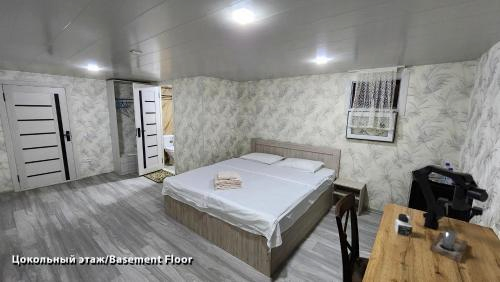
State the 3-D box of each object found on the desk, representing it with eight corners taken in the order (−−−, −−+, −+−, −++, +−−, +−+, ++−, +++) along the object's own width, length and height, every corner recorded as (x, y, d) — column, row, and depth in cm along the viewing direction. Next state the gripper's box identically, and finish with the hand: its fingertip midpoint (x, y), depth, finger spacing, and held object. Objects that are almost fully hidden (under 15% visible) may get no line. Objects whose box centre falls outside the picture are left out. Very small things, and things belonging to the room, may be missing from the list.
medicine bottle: (397, 234, 130) (399, 217, 128) (394, 228, 137) (396, 211, 135) (411, 237, 127) (413, 219, 125) (407, 231, 134) (409, 213, 132)
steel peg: (440, 251, 115) (443, 231, 113) (442, 248, 117) (445, 228, 116) (451, 256, 111) (454, 235, 109) (453, 252, 114) (456, 232, 112)
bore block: (429, 250, 116) (430, 246, 116) (439, 235, 129) (440, 232, 129) (459, 262, 107) (460, 258, 106) (467, 245, 120) (467, 241, 119)
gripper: (436, 192, 124) (432, 217, 126) (483, 204, 109) (478, 231, 111) (441, 188, 130) (437, 211, 133) (485, 198, 116) (480, 224, 118)
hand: (456, 219), depth 124 cm, fingers open, 9 cm apart
